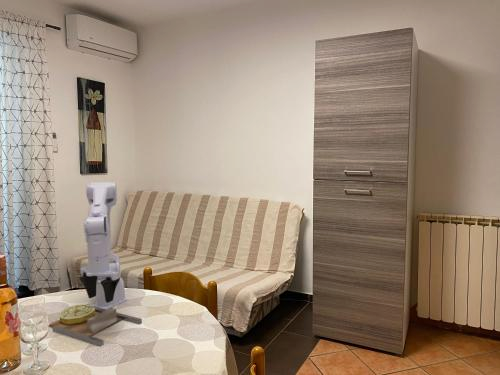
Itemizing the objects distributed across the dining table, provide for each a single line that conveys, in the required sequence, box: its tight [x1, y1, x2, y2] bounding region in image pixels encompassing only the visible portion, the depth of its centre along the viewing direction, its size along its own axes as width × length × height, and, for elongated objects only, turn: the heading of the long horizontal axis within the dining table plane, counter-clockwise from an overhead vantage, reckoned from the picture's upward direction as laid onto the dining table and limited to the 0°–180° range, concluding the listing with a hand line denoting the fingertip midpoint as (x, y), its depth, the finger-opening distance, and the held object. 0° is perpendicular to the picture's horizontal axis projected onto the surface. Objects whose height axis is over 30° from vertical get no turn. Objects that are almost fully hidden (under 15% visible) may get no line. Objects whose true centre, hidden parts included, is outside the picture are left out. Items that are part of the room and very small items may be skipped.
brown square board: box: [48, 307, 123, 337], centre depth 117 cm, size 18×13×5 cm
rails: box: [51, 307, 143, 347], centre depth 114 cm, size 16×21×2 cm
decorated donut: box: [58, 304, 96, 325], centre depth 120 cm, size 10×11×4 cm
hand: (100, 299), depth 113 cm, fingers open, 7 cm apart
